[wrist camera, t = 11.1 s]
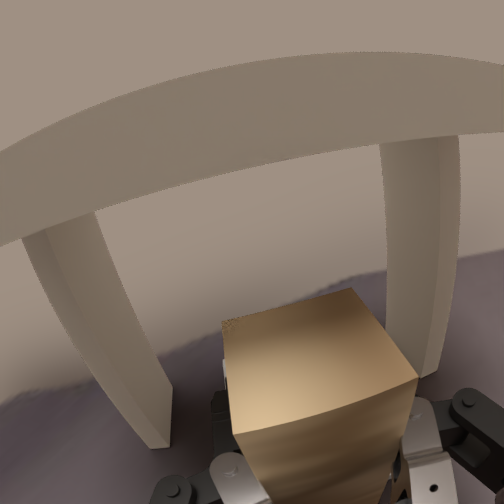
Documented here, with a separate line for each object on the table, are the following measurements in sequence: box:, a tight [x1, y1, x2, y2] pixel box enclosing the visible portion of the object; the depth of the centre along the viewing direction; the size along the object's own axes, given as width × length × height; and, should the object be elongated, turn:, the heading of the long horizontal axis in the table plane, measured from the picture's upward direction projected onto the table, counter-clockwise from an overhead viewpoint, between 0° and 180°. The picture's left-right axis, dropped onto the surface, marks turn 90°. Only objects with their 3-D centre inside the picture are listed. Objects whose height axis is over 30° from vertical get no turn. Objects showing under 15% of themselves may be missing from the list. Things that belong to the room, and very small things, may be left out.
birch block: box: [222, 288, 419, 504], centre depth 10 cm, size 4×4×10 cm
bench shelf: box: [0, 52, 504, 480], centre depth 15 cm, size 21×14×19 cm, turn 98°
